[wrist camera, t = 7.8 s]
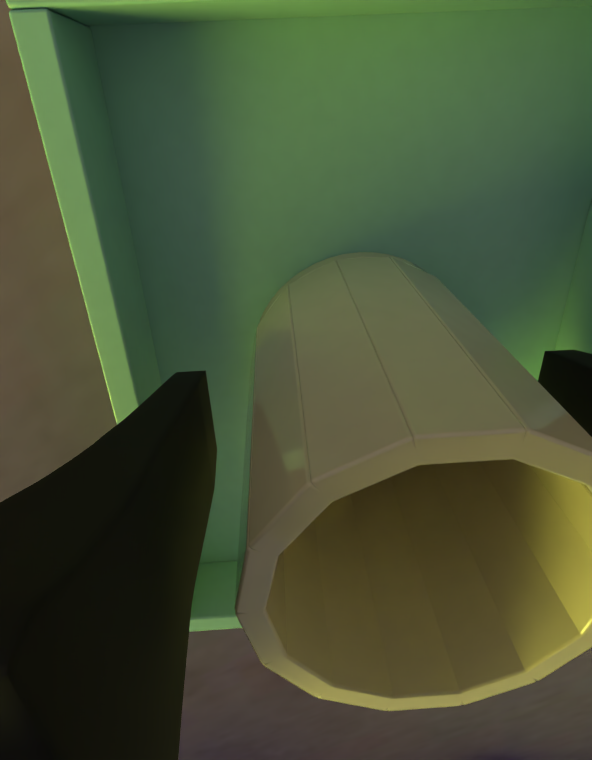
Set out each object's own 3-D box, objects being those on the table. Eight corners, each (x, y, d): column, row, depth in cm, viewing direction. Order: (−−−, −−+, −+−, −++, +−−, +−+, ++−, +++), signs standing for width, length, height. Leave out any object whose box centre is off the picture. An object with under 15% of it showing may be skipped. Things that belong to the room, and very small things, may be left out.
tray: (514, 541, 17) (552, 607, 15) (183, 563, 16) (171, 634, 14) (661, -32, 9) (782, -74, 7) (58, -10, 9) (-8, -45, 7)
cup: (449, 433, 14) (594, 697, 8) (258, 444, 14) (251, 722, 7) (476, 245, 11) (727, 418, 5) (240, 257, 11) (208, 449, 5)
